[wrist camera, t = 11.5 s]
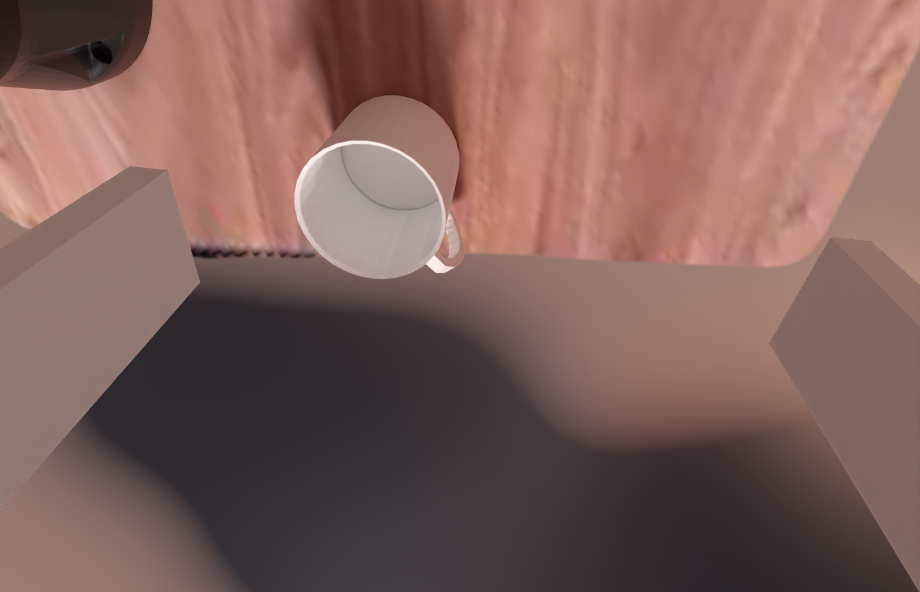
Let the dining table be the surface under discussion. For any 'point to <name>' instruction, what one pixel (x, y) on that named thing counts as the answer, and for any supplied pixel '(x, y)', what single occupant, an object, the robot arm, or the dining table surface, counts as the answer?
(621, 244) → the dining table surface
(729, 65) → the dining table surface
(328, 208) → the mug
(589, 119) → the dining table surface
